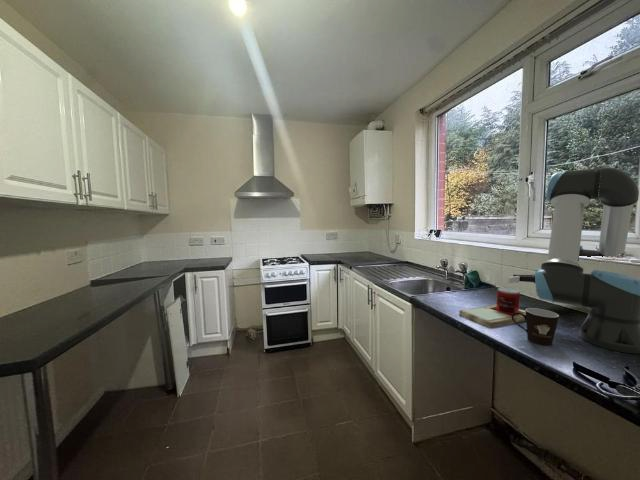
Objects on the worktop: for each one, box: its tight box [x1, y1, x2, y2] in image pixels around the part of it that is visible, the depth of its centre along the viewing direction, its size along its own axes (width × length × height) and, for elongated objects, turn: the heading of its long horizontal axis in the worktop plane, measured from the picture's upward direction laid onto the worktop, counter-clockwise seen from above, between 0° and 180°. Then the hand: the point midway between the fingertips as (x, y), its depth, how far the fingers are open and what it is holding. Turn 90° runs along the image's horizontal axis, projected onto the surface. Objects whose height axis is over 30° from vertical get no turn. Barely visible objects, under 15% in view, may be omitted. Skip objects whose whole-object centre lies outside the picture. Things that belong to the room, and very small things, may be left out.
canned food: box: [496, 287, 521, 316], centre depth 112 cm, size 8×8×11 cm
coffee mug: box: [512, 307, 560, 347], centre depth 90 cm, size 12×9×10 cm
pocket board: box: [458, 304, 526, 329], centre depth 111 cm, size 14×26×2 cm, turn 110°
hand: (524, 283), depth 115 cm, fingers open, 13 cm apart
